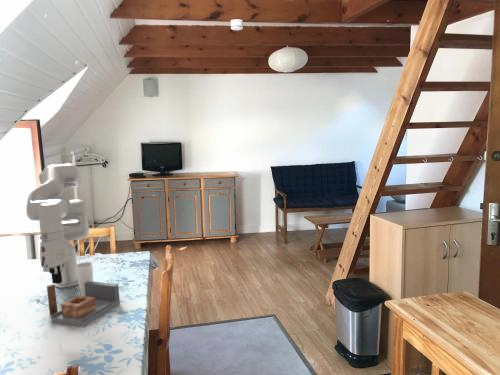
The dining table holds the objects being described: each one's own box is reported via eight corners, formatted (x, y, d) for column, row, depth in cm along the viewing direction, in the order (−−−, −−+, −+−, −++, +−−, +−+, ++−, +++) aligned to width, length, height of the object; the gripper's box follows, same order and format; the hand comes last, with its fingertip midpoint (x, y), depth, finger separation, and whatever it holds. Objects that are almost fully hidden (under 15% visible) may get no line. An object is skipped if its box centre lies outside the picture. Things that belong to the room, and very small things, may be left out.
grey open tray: (52, 322, 165) (49, 300, 164) (90, 300, 186) (88, 281, 184) (84, 327, 160) (82, 305, 159) (119, 304, 180) (118, 284, 179)
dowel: (48, 314, 173) (45, 286, 171) (53, 311, 175) (50, 284, 174) (53, 315, 172) (50, 287, 170) (59, 312, 174) (56, 284, 173)
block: (62, 315, 165) (60, 304, 165) (78, 306, 174) (77, 295, 173) (80, 318, 162) (79, 306, 162) (95, 308, 171) (94, 297, 170)
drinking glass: (89, 299, 187) (86, 267, 185) (76, 298, 188) (72, 266, 186) (97, 293, 194) (95, 262, 192) (84, 292, 195) (81, 262, 193)
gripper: (44, 241, 146) (49, 291, 149) (74, 231, 160) (79, 276, 163) (28, 240, 149) (33, 289, 151) (59, 230, 163) (64, 275, 165)
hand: (57, 282), depth 157 cm, fingers closed
